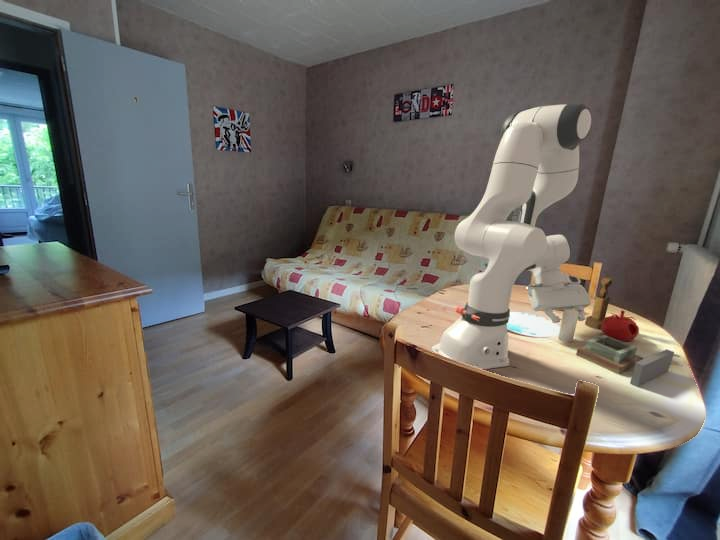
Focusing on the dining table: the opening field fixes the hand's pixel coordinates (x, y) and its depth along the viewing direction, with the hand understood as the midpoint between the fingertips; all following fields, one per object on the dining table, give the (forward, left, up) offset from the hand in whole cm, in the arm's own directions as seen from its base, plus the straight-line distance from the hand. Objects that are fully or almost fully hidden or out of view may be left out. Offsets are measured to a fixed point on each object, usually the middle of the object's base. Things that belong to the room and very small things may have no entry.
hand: (569, 321), depth 102 cm
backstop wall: (-1, -23, -6) cm, 24 cm away
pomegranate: (+18, -6, -7) cm, 20 cm away
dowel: (0, 0, -6) cm, 6 cm away
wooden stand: (+21, +2, -7) cm, 22 cm away
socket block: (-1, -13, -6) cm, 14 cm away
